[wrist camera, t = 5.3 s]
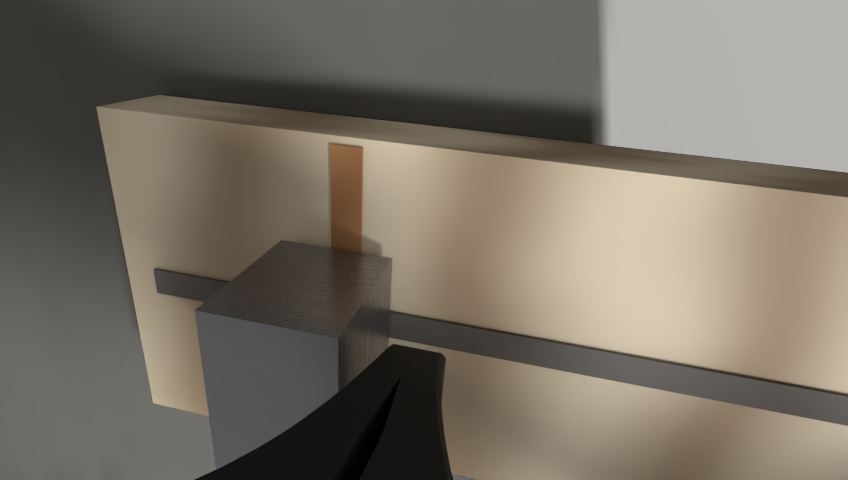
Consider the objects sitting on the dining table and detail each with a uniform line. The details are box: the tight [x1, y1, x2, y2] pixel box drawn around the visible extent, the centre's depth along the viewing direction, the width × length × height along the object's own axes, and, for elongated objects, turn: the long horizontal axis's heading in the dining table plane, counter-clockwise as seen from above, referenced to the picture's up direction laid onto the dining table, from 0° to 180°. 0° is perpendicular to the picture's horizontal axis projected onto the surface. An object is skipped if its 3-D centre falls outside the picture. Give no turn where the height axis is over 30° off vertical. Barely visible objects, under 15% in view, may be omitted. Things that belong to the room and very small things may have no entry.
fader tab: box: [194, 240, 392, 470], centre depth 12 cm, size 3×4×4 cm
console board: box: [96, 95, 848, 480], centre depth 14 cm, size 22×10×2 cm, turn 86°
